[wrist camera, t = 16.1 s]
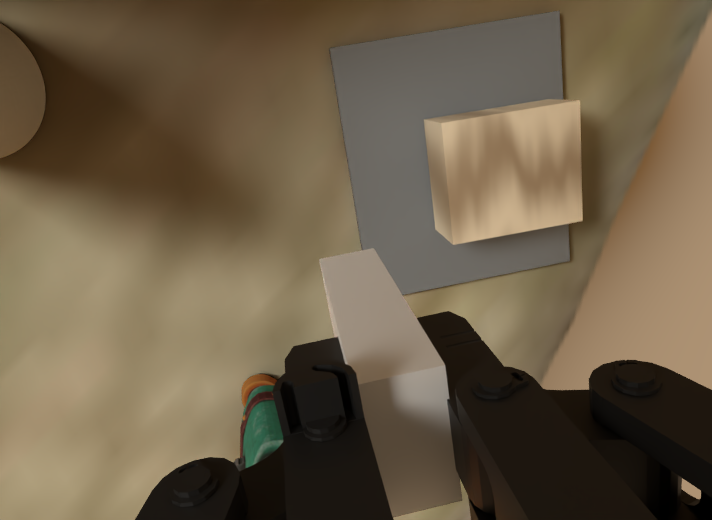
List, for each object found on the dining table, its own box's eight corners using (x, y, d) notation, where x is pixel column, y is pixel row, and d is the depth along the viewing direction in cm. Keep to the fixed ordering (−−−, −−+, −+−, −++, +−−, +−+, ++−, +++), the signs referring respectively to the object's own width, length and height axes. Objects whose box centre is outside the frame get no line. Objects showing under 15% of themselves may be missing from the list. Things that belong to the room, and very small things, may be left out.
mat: (329, 48, 33) (330, 48, 32) (554, 11, 34) (559, 10, 34) (369, 297, 38) (371, 301, 37) (565, 258, 39) (569, 261, 39)
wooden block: (441, 123, 31) (579, 100, 31) (422, 119, 34) (546, 99, 35) (453, 244, 33) (582, 220, 33) (434, 228, 37) (551, 207, 37)
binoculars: (402, 576, 33) (228, 600, 30) (359, 462, 43) (224, 474, 40) (420, 444, 30) (231, 459, 28) (369, 356, 40) (226, 361, 38)
